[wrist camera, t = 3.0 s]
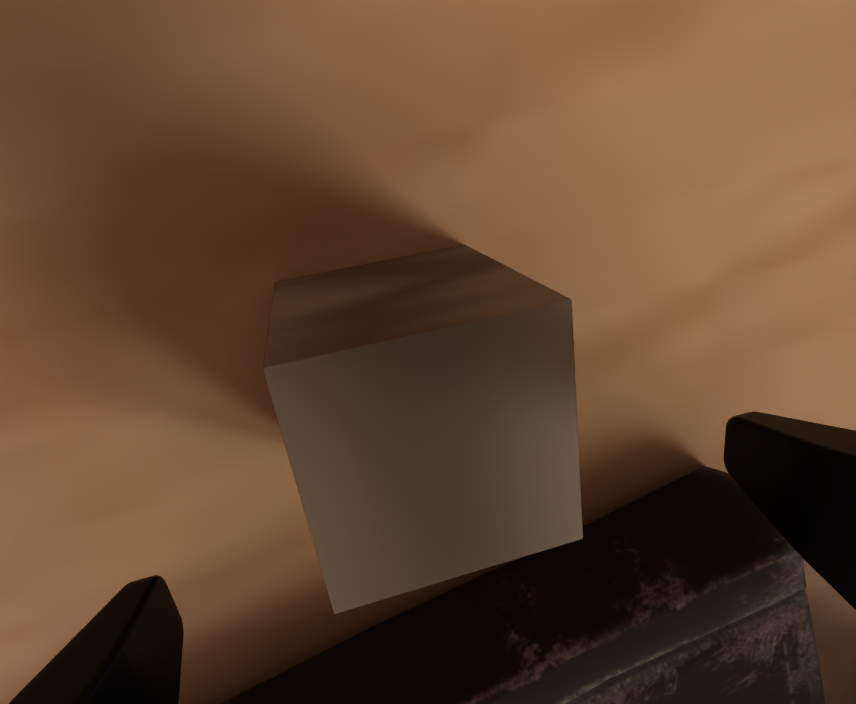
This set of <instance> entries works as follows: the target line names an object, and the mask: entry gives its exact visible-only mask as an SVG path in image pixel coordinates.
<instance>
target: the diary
mask: <svg viewBox="0 0 856 704" xmlns="http://www.w3.org/2000/svg"><path fill="white" fill-rule="evenodd" d="M582 529H583V539H580V540H577V541H574V542H570V543H567V544H564V545H561V546H557V547H554V548H551V549H547V550H544V551H541V552H538V553H534V554H531V555H528V556H524V557H521V558H519V559H517V560H515V561H512V562H510V563H508V564H506V565H504V566H502V567H499V568H497V569H495V570H493V571H491V572H489V573H487V574H484V575H482V576H480V577H478V578H476V579H474V580H472V581H469V582H467V583H465V584H463V585H461V586H459V587H457V588H454V589H452V590H450V591H448V592H446V593H444V594H442V595H439V596H437V597H435V598H433V599H431V600H429V601H427V602H424V603H422V604H420V605H418V606H416V607H414V608H412V609H409V610H407V611H405V612H403V613H401V614H399V615H397V616H394V617H392V618H390V619H388V620H386V621H384V622H382V623H379V624H377V625H375V626H373V627H371V628H369V629H367V630H365V631H363V632H361V633H359V634H357V635H355V636H353V637H351V638H349V639H347V640H345V641H343V642H342V643H340V644H338V645H336V646H334V647H332V648H330V649H328V650H326V651H324V652H322V653H320V654H318V655H316V656H314V657H312V658H310V659H308V660H306V661H304V662H302V663H300V664H298V665H296V666H294V667H292V668H290V669H288V670H286V671H284V672H282V673H280V674H278V675H276V676H274V677H272V678H270V679H268V680H267V681H265V682H263V683H261V684H259V685H257V686H255V687H253V688H251V689H249V690H247V691H245V692H243V693H241V694H239V695H237V696H235V697H233V698H231V699H229V700H227V701H225V702H223V703H221V704H825V700H824V694H823V687H822V681H821V675H820V669H819V663H818V656H817V650H816V644H815V638H814V633H813V627H812V621H811V616H810V610H809V604H808V599H807V595H806V592H805V589H804V588H806V582H805V573H804V563H803V558H802V557H801V556H800V555H799V554H798V553H797V552H796V551H795V549H794V548H793V547H792V546H791V545H790V544H789V543H788V542H787V541H786V540H785V538H784V537H783V536H782V535H781V534H780V533H779V532H778V530H777V529H776V528H775V527H774V526H773V525H772V523H771V522H770V521H769V520H768V519H767V518H766V516H765V515H764V514H763V513H762V512H761V511H760V509H759V508H758V507H757V506H756V505H755V504H754V502H753V501H752V500H751V499H750V498H749V497H748V495H747V494H746V493H745V492H744V491H743V490H742V488H741V487H740V486H739V485H738V484H737V483H736V481H735V480H734V479H733V478H732V477H731V476H730V474H728V473H726V472H722V471H719V470H716V469H712V468H709V467H706V466H704V467H702V468H700V469H698V470H696V471H694V472H691V473H689V474H687V475H685V476H683V477H681V478H679V479H677V480H675V481H673V482H671V483H669V484H667V485H665V486H663V487H661V488H659V489H657V490H655V491H653V492H651V493H649V494H647V495H645V496H644V497H642V498H640V499H638V500H636V501H634V502H632V503H630V504H628V505H626V506H624V507H622V508H620V509H618V510H616V511H614V512H612V513H610V514H608V515H606V516H604V517H602V518H600V519H598V520H596V521H594V522H592V523H590V524H588V525H586V526H584V527H582Z"/></svg>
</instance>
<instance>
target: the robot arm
mask: <svg viewBox="0 0 856 704" xmlns="http://www.w3.org/2000/svg"><path fill="white" fill-rule="evenodd" d="M724 464H725V467H726V469H727V471H728V473H729V474H730V476H731V477H732V478H733V479H734V480H735V481H736V483H737V484H738V485H739V486H740V487H741V488H742V490H743V491H744V492H745V493H746V494H747V495H748V497H749V498H750V499H751V500H752V501H753V502H754V504H755V505H756V506H757V507H758V508H759V509H760V511H761V512H762V513H763V514H764V515H765V516H766V518H767V519H768V520H769V521H770V522H771V523H772V525H773V526H774V527H775V528H776V529H777V530H778V532H779V533H780V534H781V535H782V536H783V537H784V538H785V540H786V541H787V542H788V543H789V544H790V545H791V546H792V547H793V548H794V549H795V551H796V552H797V553H798V554H799V555H800V556H801V557H802V558H803V559H804V560H805V561H806V562H807V563H808V564H809V565H810V566H811V567H812V568H813V569H814V570H815V571H816V572H817V573H818V574H820V575H821V576H822V577H823V578H824V579H825V580H826V581H827V582H828V583H829V584H830V585H831V586H832V587H833V588H834V589H835V590H836V591H837V592H838V593H839V594H840V595H841V596H842V597H843V598H844V599H845V600H846V601H847V602H848V603H849V604H850V605H851V606H852V607H853V608H854V609H855V610H856V431H855V430H849V429H844V428H839V427H834V426H828V425H823V424H818V423H813V422H807V421H802V420H797V419H792V418H786V417H781V416H776V415H771V414H766V413H760V412H748V413H744V414H741V415H737V416H733V417H731V418H730V419H729V420H728V422H727V424H726V433H725V447H724ZM182 647H183V623H182V619H181V616H180V613H179V611H178V609H177V607H176V604H175V602H174V600H173V597H172V595H171V593H170V591H169V588H168V586H167V584H166V582H165V580H164V579H163V578H162V577H161V576H158V575H154V576H151V577H147V578H143V579H140V580H136V581H133V582H130V583H128V584H127V585H125V586H124V587H123V588H122V589H121V590H120V591H119V592H118V593H117V594H116V595H115V596H114V597H113V598H112V599H111V600H110V601H109V602H108V603H107V604H106V605H105V606H104V607H103V608H102V610H101V611H100V612H99V613H98V614H97V615H96V616H95V617H94V618H93V619H92V620H91V621H90V622H89V623H88V624H87V625H86V626H85V627H84V628H83V629H82V630H81V631H80V632H79V633H78V634H77V635H76V636H75V637H74V638H73V639H72V640H71V641H70V642H69V643H68V644H67V645H66V646H65V647H64V648H63V649H62V650H61V651H60V652H59V653H58V654H57V655H56V656H55V657H54V658H53V659H52V660H51V661H50V662H49V663H48V664H47V665H46V666H45V667H44V668H43V669H42V670H41V671H40V672H39V673H38V674H37V675H36V676H35V677H34V678H33V679H32V680H31V681H30V682H29V683H28V684H27V685H26V686H25V687H24V688H23V689H22V690H21V691H20V692H19V693H18V695H17V696H16V697H15V698H14V699H13V700H12V701H11V702H10V703H9V704H178V701H179V688H180V674H181V661H182Z"/></svg>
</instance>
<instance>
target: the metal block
mask: <svg viewBox="0 0 856 704" xmlns="http://www.w3.org/2000/svg"><path fill="white" fill-rule="evenodd" d="M263 371H264V375H265V378H266V382H267V385H268V389H269V392H270V395H271V399H272V402H273V406H274V409H275V413H276V416H277V419H278V423H279V426H280V430H281V433H282V437H283V440H284V443H285V447H286V450H287V454H288V457H289V461H290V464H291V467H292V471H293V474H294V478H295V481H296V485H297V488H298V491H299V495H300V498H301V502H302V505H303V508H304V512H305V515H306V519H307V522H308V526H309V529H310V532H311V536H312V539H313V543H314V546H315V550H316V553H317V556H318V560H319V563H320V567H321V570H322V574H323V577H324V580H325V584H326V587H327V591H328V594H329V598H330V601H331V604H332V608H333V611H334V614H337V613H340V612H344V611H347V610H350V609H353V608H357V607H360V606H363V605H367V604H370V603H373V602H376V601H380V600H383V599H386V598H390V597H393V596H396V595H399V594H403V593H406V592H409V591H413V590H416V589H419V588H422V587H426V586H429V585H432V584H436V583H439V582H442V581H445V580H449V579H452V578H455V577H459V576H462V575H465V574H468V573H472V572H475V571H478V570H482V569H485V568H488V567H492V566H495V565H498V564H501V563H505V562H508V561H511V560H515V559H518V558H521V557H524V556H528V555H531V554H534V553H538V552H541V551H544V550H547V549H551V548H554V547H557V546H561V545H564V544H567V543H570V542H574V541H577V540H580V539H583V529H582V508H581V487H580V466H579V446H578V425H577V404H576V383H575V362H574V341H573V321H572V300H571V299H569V298H567V297H566V296H564V295H562V294H560V293H558V292H556V291H554V290H552V289H550V288H548V287H546V286H544V285H542V284H540V283H538V282H536V281H534V280H532V279H530V278H528V277H527V276H525V275H523V274H521V273H519V272H517V271H515V270H513V269H511V268H509V267H507V266H505V265H503V264H501V263H499V262H497V261H495V260H493V259H491V258H489V257H487V256H486V255H484V254H482V253H480V252H478V251H476V250H474V249H472V248H470V247H468V246H466V245H461V246H456V247H450V248H445V249H440V250H435V251H430V252H425V253H420V254H415V255H410V256H405V257H400V258H395V259H390V260H385V261H380V262H375V263H370V264H364V265H359V266H354V267H349V268H344V269H339V270H334V271H329V272H324V273H319V274H314V275H309V276H304V277H299V278H294V279H289V280H283V281H278V282H275V288H274V295H273V302H272V308H271V315H270V322H269V329H268V335H267V342H266V349H265V356H264V363H263Z"/></svg>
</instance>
